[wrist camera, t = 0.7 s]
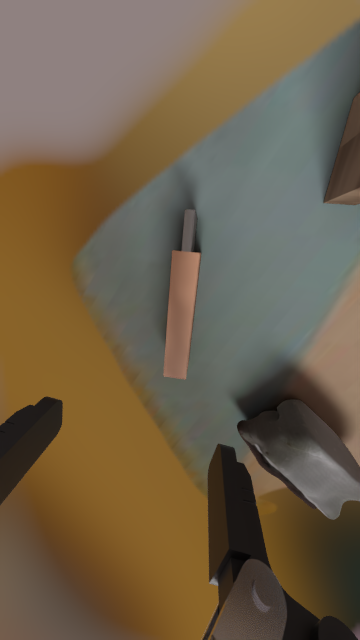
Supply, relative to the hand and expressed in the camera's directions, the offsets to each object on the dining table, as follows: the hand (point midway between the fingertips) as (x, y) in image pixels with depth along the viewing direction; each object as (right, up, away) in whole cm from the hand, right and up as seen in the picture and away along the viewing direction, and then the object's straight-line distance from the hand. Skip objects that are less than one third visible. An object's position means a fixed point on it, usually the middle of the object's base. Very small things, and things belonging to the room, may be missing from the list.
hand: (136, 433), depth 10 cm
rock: (+21, -14, +24) cm, 35 cm away
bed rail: (+3, +9, +18) cm, 20 cm away
